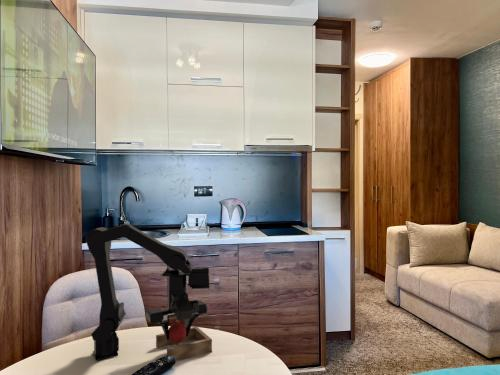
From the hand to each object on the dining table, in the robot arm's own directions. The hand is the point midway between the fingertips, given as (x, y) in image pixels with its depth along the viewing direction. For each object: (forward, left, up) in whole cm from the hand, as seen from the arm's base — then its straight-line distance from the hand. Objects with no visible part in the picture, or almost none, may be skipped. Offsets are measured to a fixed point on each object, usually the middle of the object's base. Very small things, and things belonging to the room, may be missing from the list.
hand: (177, 338), depth 114 cm
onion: (0, 0, -2) cm, 2 cm away
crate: (+2, 0, -4) cm, 5 cm away
